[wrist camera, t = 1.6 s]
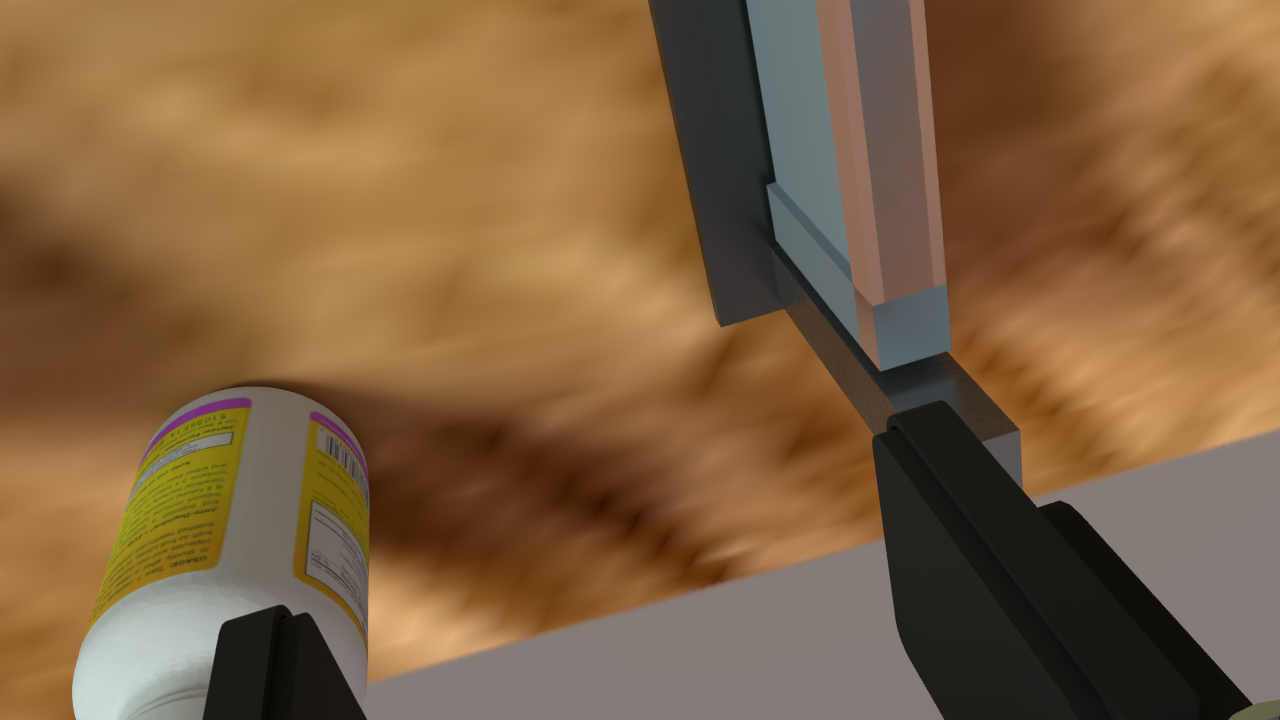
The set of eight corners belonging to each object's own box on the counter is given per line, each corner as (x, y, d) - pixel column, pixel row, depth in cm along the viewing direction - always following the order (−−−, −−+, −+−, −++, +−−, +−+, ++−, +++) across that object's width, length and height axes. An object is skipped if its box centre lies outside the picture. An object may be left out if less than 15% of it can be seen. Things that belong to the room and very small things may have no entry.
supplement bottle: (119, 526, 34) (-8, 900, 23) (178, 349, 31) (66, 673, 20) (332, 573, 36) (308, 931, 25) (401, 413, 34) (409, 732, 23)
